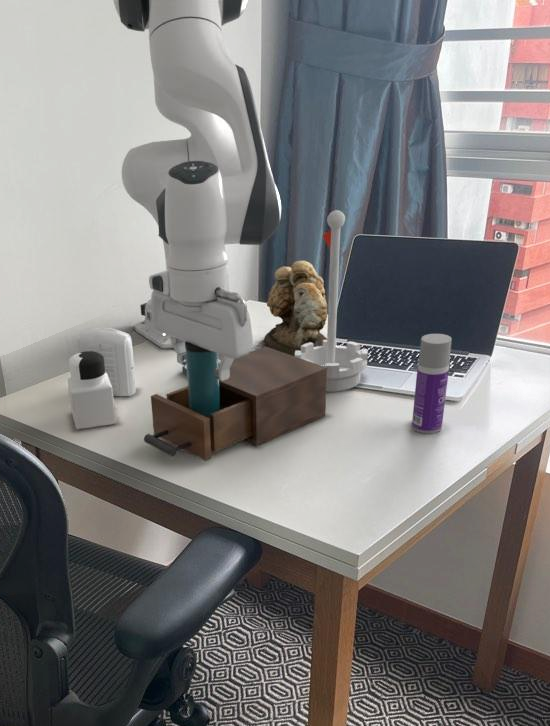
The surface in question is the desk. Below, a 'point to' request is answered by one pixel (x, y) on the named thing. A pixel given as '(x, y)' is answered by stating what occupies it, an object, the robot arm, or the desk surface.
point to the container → (431, 383)
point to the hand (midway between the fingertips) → (202, 370)
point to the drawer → (199, 423)
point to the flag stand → (338, 359)
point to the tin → (202, 380)
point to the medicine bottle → (90, 391)
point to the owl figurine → (297, 308)
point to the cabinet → (278, 391)
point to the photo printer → (112, 356)
